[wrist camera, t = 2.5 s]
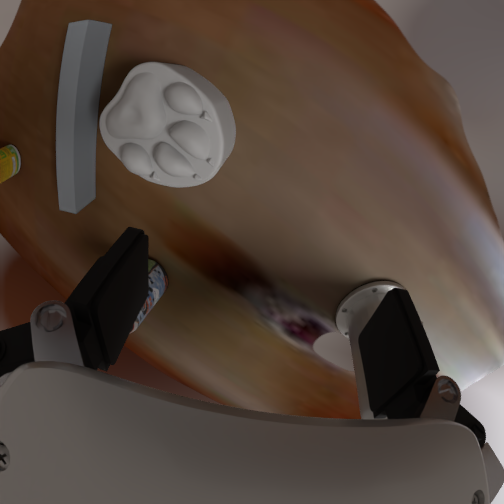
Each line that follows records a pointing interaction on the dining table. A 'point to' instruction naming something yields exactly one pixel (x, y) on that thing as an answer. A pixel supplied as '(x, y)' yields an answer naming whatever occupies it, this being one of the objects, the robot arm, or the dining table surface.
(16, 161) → the supplement bottle
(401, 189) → the dining table surface
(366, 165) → the dining table surface
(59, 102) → the grey long bar
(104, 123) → the lumpy-topped squat cylinder
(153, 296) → the beverage can
